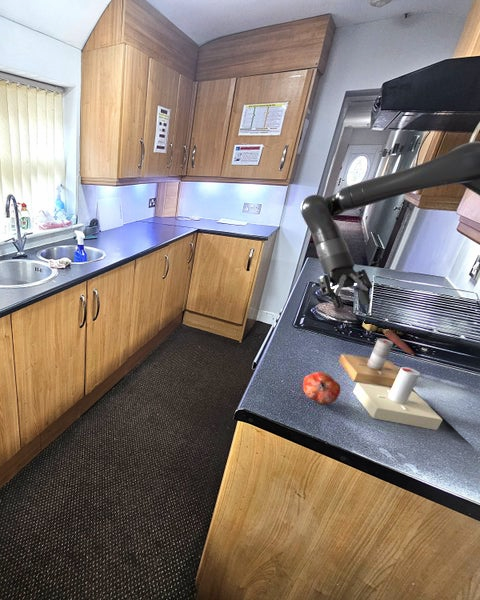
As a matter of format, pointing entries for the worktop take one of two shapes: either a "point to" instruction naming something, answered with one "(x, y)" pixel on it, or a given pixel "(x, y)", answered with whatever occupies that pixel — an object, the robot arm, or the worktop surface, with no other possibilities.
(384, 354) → the rod
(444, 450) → the worktop surface
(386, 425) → the worktop surface
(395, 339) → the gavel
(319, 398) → the pomegranate
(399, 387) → the rod
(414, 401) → the cream base plate
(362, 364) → the brown wooden block
